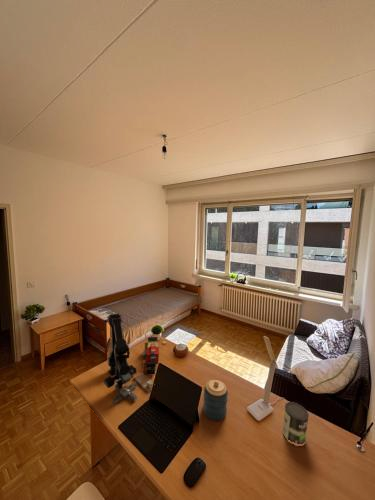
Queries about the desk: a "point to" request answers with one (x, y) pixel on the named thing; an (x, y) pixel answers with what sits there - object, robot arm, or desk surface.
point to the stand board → (144, 382)
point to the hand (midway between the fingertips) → (120, 388)
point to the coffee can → (295, 422)
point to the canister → (215, 400)
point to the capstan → (125, 392)
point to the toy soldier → (151, 355)
